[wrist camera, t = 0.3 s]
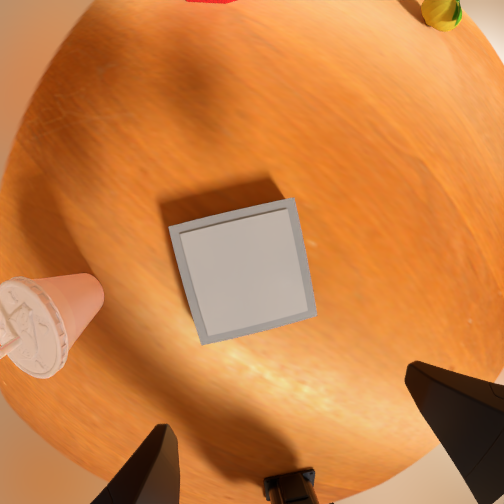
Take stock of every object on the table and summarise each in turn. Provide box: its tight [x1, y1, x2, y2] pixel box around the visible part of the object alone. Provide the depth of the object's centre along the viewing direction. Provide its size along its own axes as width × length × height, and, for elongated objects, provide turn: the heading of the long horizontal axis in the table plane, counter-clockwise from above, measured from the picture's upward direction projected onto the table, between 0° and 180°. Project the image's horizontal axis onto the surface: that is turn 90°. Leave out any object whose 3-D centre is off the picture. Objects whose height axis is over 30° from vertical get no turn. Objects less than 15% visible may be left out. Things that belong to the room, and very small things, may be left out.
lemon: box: [421, 0, 462, 32], centre depth 16 cm, size 7×6×10 cm
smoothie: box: [0, 273, 104, 378], centre depth 14 cm, size 6×6×14 cm
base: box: [168, 198, 317, 345], centre depth 20 cm, size 9×9×3 cm
